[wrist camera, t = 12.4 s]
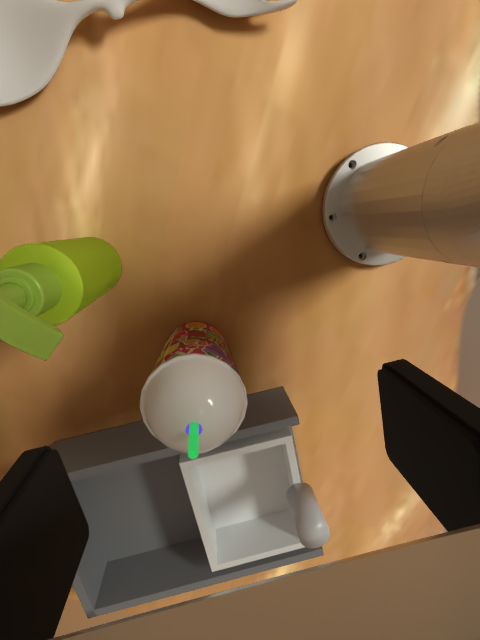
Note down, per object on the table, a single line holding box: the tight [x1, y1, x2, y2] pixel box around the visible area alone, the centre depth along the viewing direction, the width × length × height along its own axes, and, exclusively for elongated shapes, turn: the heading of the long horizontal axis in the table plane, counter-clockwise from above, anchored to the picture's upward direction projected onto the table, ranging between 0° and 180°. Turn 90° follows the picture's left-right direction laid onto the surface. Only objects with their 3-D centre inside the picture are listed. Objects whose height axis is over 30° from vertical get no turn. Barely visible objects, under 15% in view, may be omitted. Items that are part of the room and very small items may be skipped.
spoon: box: [0, 0, 298, 107], centre depth 31 cm, size 9×32×4 cm, turn 108°
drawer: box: [179, 427, 330, 572], centre depth 39 cm, size 13×15×11 cm
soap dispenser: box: [0, 237, 122, 361], centre depth 28 cm, size 6×7×20 cm
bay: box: [51, 386, 323, 618], centre depth 42 cm, size 28×19×7 cm
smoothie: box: [139, 322, 248, 459], centre depth 31 cm, size 8×8×20 cm
